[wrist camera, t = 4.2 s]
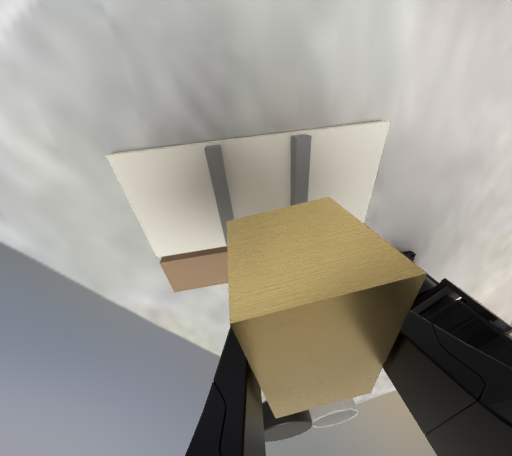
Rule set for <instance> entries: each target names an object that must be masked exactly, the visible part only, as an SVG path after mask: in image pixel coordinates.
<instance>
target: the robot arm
mask: <svg viewBox="0 0 512 456" xmlns="http://www.w3.org/2000/svg"><path fill="white" fill-rule="evenodd" d="M402 254H403V255H404V256H406V257H407V258H408V259H410V260H411V261H413V259H414V257H415V255H416V254H415V253H414V252H406V253H402ZM441 281H442V282H440V283H438V282H437V281H436V280H434V279H433V278H432V277H431V276H429V275H428V274H427V275H426V277H425V279H424V281H423V283H422V285H421V288H420V290H419V292H418V294H417V296H416V298H415V300H414V302H413V304H412V307H411V309H410V311H409V313H408V315H407V317H406V319H405V321H404V323H403V325H402V328H401V330H400V332H399V334H398V336H397V338H396V340H395V342H394V344H393V346H392V349H391V351H390V353H389V355H388V357H387V359H386V361H385V363H384V365H383V369H384V370H385V372H386V373H387V375H388V377H389V378H390V380H391V382H392V383H393V385H394V386H395V388H396V390H397V391H398V393H399V394H400V396H401V397H402V399H403V401H404V402H405V404H406V406H407V407H408V409H409V411H410V412H411V414H412V415H413V417H414V419H415V420H416V422H417V423H418V425H419V427H420V428H421V430H422V432H423V433H424V434H425V437H426V438H427V440H428V441H429V443H430V445H431V446H432V448H433V449H434V451H435V453H436V454H437V456H512V337H511V336H510V335H509V334H510V333H511V332H512V327H511V326H509V325H508V324H507V323H505V322H504V321H503V320H502V319H500V318H499V317H498V316H496V315H495V314H494V313H492V312H491V311H490V310H489V309H487V308H486V307H485V306H483V305H482V304H481V303H479V302H478V301H477V300H475V299H474V298H473V297H471V296H470V295H468V294H467V293H466V292H464V291H463V290H462V289H460V288H459V287H457V286H456V285H454V284H453V283H451V282H450V281H448V280H447V279H445V278H444V279H443V280H441ZM460 296H461V297H462V298H461V299H460V300H456V299H457V298H459V297H460ZM265 452H266V451H265V437H264V423H263V409H262V395H261V387H260V385H259V383H258V381H257V379H256V377H255V375H254V373H253V371H252V368H251V366H250V364H249V362H248V360H247V358H246V356H245V354H244V352H243V350H242V348H241V346H240V344H239V342H238V339H237V337H236V335H235V333H234V331H233V329H232V327H231V326H230V329H229V332H228V336H227V339H226V342H225V345H224V348H223V351H222V354H221V358H220V361H219V364H218V367H217V370H216V374H215V377H214V382H213V383H212V386H211V389H210V392H209V395H208V398H207V401H206V404H205V407H204V409H203V413H202V415H201V417H200V420H199V423H198V425H197V428H196V430H195V433H194V435H193V438H192V440H191V443H190V445H189V448H188V450H187V452H186V455H185V456H266V453H265Z"/></svg>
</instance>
